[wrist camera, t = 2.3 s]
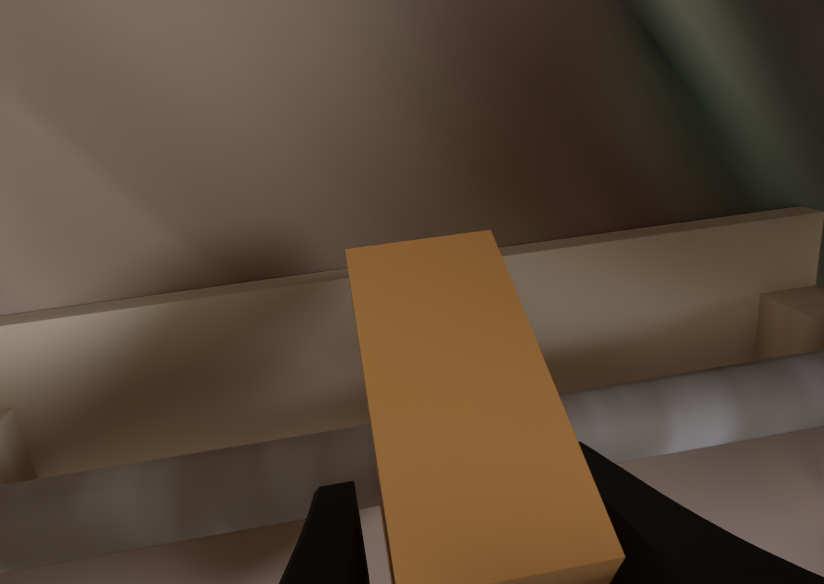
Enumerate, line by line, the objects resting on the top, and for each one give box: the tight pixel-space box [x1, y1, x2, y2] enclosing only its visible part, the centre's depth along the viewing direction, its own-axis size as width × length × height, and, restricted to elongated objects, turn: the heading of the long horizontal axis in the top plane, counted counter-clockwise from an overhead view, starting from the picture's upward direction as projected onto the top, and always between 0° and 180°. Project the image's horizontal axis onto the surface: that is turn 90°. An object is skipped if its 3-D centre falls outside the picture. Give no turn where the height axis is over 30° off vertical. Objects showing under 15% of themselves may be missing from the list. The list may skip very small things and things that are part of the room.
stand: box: [0, 206, 824, 573], centre depth 14 cm, size 6×22×5 cm, turn 96°
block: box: [345, 230, 625, 584], centre depth 12 cm, size 8×3×6 cm, turn 8°
